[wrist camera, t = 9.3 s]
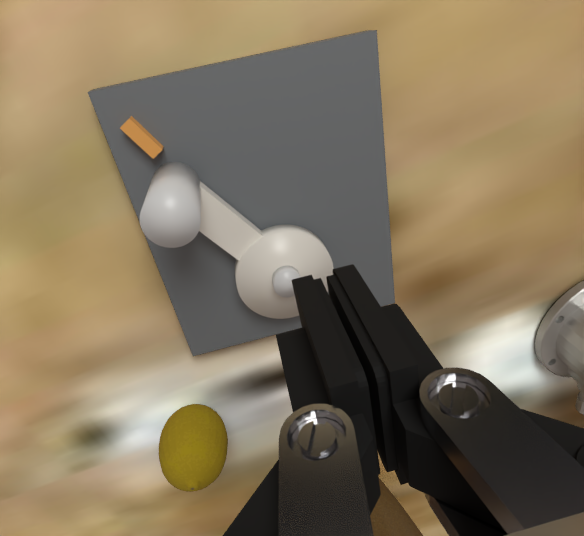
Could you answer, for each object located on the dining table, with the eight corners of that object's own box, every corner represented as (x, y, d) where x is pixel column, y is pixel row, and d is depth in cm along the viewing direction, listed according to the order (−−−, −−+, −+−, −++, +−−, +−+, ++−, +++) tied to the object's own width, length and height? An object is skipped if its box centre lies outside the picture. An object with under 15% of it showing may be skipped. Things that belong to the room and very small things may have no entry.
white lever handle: (347, 262, 32) (375, 306, 27) (283, 323, 33) (298, 375, 28) (192, 126, 25) (190, 150, 20) (122, 210, 27) (103, 252, 22)
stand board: (387, 293, 36) (399, 308, 34) (193, 344, 35) (192, 363, 33) (367, 30, 26) (382, 29, 24) (93, 89, 25) (83, 94, 23)
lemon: (207, 376, 37) (209, 454, 30) (235, 414, 40) (242, 493, 33) (150, 401, 37) (139, 484, 30) (182, 437, 40) (177, 521, 33)
